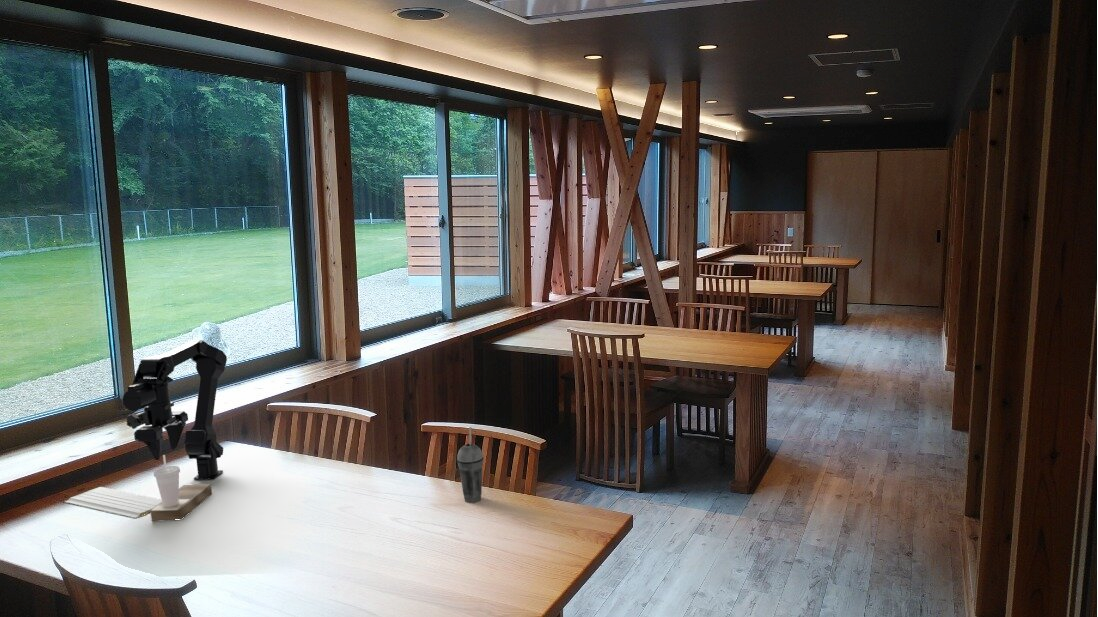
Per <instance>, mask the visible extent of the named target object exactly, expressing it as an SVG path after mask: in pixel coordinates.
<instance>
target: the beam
mask: <svg viewBox="0 0 1098 617" xmlns="http://www.w3.org/2000/svg"><path fill="white" fill-rule="evenodd" d="M212 495H213V492H212V484H211V483H204V484H184V485H182V486H179V503H178V504H177V505H175V506H172V507H164V506H163V503H162V502H161V503H159V504H158V505H157V506H155V507H154V508H153V509H151V510H150V517H151V518H150V519H151V522H157V521H156V520H169V521H176V520H175V519H182V518H183V517H184V518H186V517H187V516H188V515H189V514H190V513H191V512H192V510H193V509H194V510H196V508H197V507H199V505H201V504H202V503H203V502H205V501H206V500H207V499H208V498H209V497H211V496H212ZM194 510H193V511H194ZM188 513H189V514H188ZM187 514H188V515H187ZM186 515H187V516H186ZM184 518H183V519H184ZM183 519H182V520H183Z"/></svg>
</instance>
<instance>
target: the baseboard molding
mask: <svg viewBox="0 0 1098 617" xmlns="http://www.w3.org/2000/svg"><path fill="white" fill-rule="evenodd" d="M96 486H99V487H96ZM88 489H90V487H89V488H85V487H83V488H81V489H78V490H77V492H74V493H73V495H75V493H76V494H77V493H79V492H82V491H85V490H88ZM66 497H68V495H67V496H66V495H65V496H64V498H66ZM62 502H63V503H65V502H66V503H65V504H68V503H70V504H69V505H73V504H75V505H74V506H77V505H79V507H82V506H83V508H86V507H87V508H86V509H92V510H95V509H96V511H100V510H101V512H104V511H105V513H109V512H110V513H109V514H113V513H115V514H114V515H117V514H119V516H122V515H124V516H123V517H126V516H128V518H131V517H133V519H135V518H136V519H138V518H140V517H139V516H141V517H143V516H145V515H147V514H146V513H148V514H150V513H151V512H150V510H151V509H153V508H154V507H155V506H157V505H158V504H159V503H161V502H162V499H161V498H157V497H152V496H146V495H141V494H136V493H133V492H126V491H124V490H123V491H122V490H118V489H112V488H108V487H104V486H100V484H99V483H98V484H97V485H95V488H93V489H90V490H88V491H86V492H82V493H80V494H77V495H75V496H71V497H69V498H68V500H65V499H62V500H61V501H60V503H61V504H63V503H62ZM149 512H150V513H149ZM144 514H145V515H144ZM142 515H143V516H142ZM137 517H138V518H137Z"/></svg>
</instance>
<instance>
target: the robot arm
mask: <svg viewBox="0 0 1098 617" xmlns="http://www.w3.org/2000/svg"><path fill="white" fill-rule="evenodd" d="M188 360H192V362H194V363H195V369H196V372H197V374H198V376H199V379H200V380H199V386H198V394H197V400H196V410H195V417H194V424H193V426H192V427H191V429H187V430H186V431H185V437H184V438H185V439H184V441H183V444H184V449H185V451H186V454H187V456H188V458H189V460H191V459H193V460H194V459H195V460H196V468H197V475H196V476H194V477H193V480H194V481H196V480H197V481H199V480H200V481H201V480H214V479H216V478H218V477H219V476H220V475H221V474H222V473H223V472H224V470H223V469H222V470H221V469H220V470H219V466H218V459H219V458H221V457H222V456H223V454H224V447H223V446H222V445H221V444H219V442H217V434H216V431H215V429H214V427H213V422H214V421H213V420H214V412H215V402H216V395H217V389H218V388H217V387H218V381H219V378H220V377H221V376H222V374H223V373H224V372H225V369H226V366H227V361H228V358H227V355H226V354H225V352H224V351H223V350H222V349H221V350H220V349H219V348H218V347H216V346H213V345H211V344H208V342H206V341H204V340H197V339H196V340H194V339H193V340H189V341H186V342H185V343H184V344H182V345H180V346H177V347H176V348H174V349H172V350H169V351H167V352H165V353H163V354H158V355H157V354H156V355H150V356H146V357H143V358H141V360H140V361H139V364H138V368H137V370H136V372H135V375H134V378H133V381H132V385H129V386H127V391H126V392H124V394H123V397H122V404H123V406H124V407H125V408H126V409H127V411H130V412H136V411H138V410H141V409H143V412H140V413H138V414H137V413H132V414H129V415H127V416H126V426H128V427H130V428H132V430H134V429H136V430H135V431H134V432H133V436H134V441H138V442H139V443H143V444H145V445H146V447H147V449H148V450H149V452H150V454H151V455H152V457H153V459H154V461H159V460H161V459H160V458H161V453H162V450H163V449H162V448H163V443H164V439H165V436H163V433H164V431H163V430H165V431H166V433H167V436H168V441H169V445H170V449H171V450H176V449H177V448H178V447H177V446H178V444H179V441H180V439H181V435H182V433H183V431H184V428H185V426H186V424H187V422H188V421H189V414H188V413H187V412H185V410H184V411H183V410H182V411H172V407H174V406H175V402H174V401H171V397H170V396H171V395H170V386H169V383H172V382H174V379H173V378H172V377H170V376H169V375H171V374H172V373H173V372H174V370H175V368H176V367H177V366H179V365H181V364H183V363H184V362H187V361H188ZM143 425H144V426H143ZM138 427H139V428H138Z"/></svg>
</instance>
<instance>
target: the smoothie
mask: <svg viewBox="0 0 1098 617" xmlns="http://www.w3.org/2000/svg"><path fill="white" fill-rule="evenodd" d="M162 460H163V461H162V462H163V467H160V468H157V469H156V470H154V471H153V477H155V481H156V484H157V488H158V491H159V494H160V499H162V503H163V506H164V507H172V506H175V505H177V504H178V503H179V488H180V473H181V469H180V468H181V467H179V466H176V465H169V466H167V462H166V461H167V459H166V454H162Z"/></svg>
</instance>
